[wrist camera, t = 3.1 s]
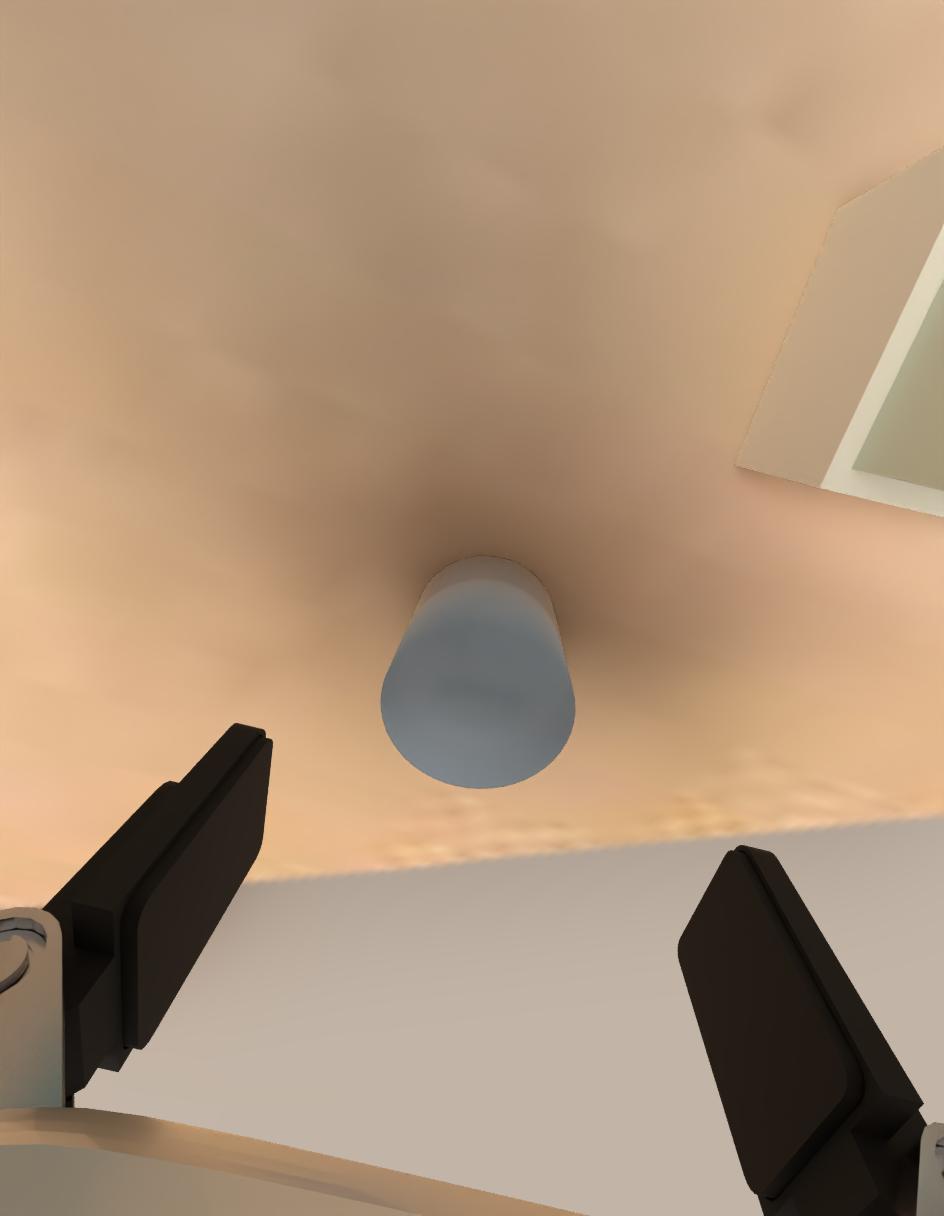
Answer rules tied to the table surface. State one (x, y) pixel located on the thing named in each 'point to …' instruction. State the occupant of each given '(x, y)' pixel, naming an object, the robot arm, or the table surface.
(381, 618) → the table surface
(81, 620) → the table surface
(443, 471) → the table surface
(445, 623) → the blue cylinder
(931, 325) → the block top
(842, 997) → the robot arm
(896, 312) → the block base
